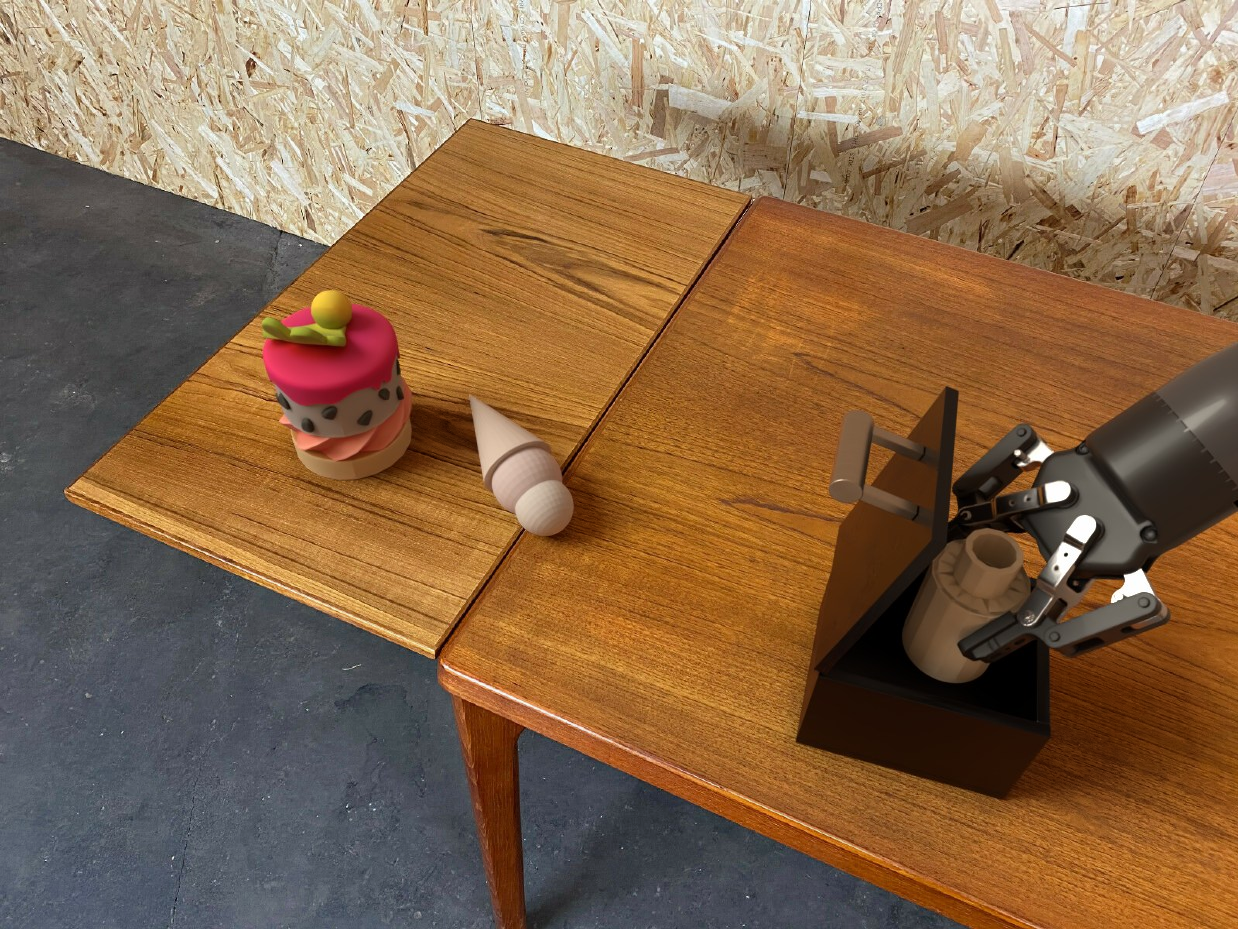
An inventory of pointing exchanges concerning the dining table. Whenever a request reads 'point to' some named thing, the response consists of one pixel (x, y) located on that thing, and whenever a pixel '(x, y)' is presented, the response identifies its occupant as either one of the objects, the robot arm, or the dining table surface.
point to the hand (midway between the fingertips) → (941, 608)
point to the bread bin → (929, 709)
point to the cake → (339, 386)
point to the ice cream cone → (521, 472)
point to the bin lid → (885, 519)
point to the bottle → (963, 602)
